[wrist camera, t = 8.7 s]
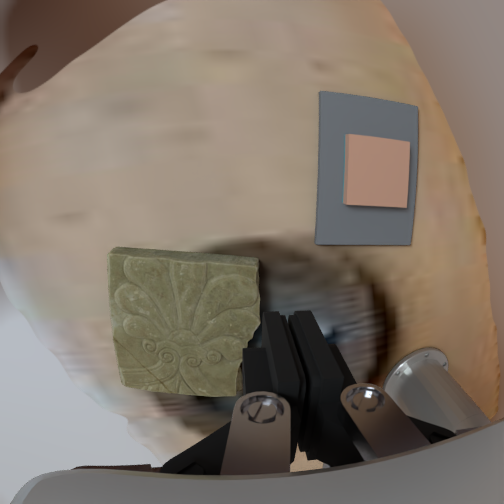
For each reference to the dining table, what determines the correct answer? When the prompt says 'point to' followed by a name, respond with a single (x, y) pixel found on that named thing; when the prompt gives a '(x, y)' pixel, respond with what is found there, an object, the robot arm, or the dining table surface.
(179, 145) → the dining table surface
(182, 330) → the decorative tile
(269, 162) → the dining table surface
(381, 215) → the rubber mat
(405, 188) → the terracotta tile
